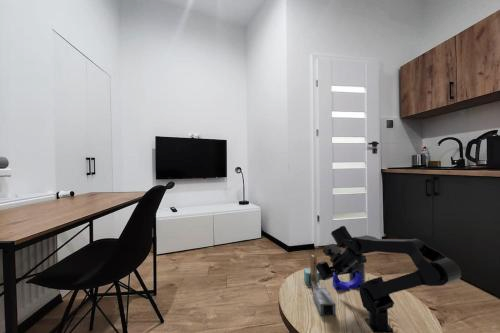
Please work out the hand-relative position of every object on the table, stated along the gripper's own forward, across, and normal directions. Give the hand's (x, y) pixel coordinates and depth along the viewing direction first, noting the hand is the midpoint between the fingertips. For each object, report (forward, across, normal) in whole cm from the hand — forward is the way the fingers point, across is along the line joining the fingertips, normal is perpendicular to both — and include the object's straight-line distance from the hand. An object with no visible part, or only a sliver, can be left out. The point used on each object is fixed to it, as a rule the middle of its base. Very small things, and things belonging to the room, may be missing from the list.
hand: (327, 276), depth 103 cm
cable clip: (+6, -12, +5) cm, 15 cm away
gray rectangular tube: (+2, +8, +9) cm, 12 cm away
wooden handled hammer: (+8, +2, +1) cm, 9 cm away
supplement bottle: (+7, -21, +4) cm, 22 cm away
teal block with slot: (+14, -2, -4) cm, 15 cm away
